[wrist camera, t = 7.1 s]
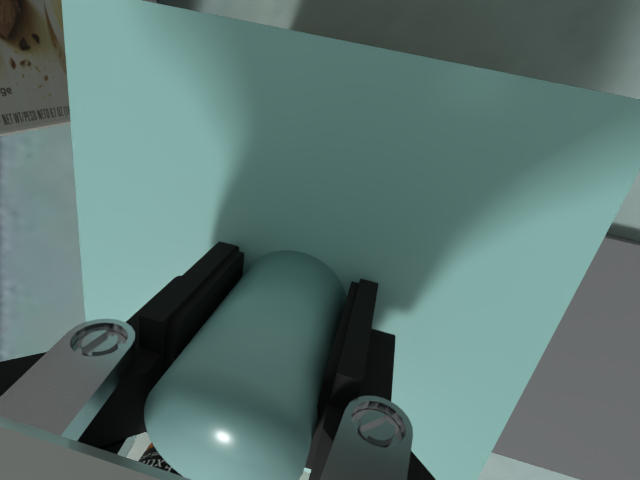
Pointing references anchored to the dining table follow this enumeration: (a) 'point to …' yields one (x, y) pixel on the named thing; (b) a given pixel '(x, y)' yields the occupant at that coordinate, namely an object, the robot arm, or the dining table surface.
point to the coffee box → (32, 66)
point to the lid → (332, 222)
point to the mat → (587, 379)
